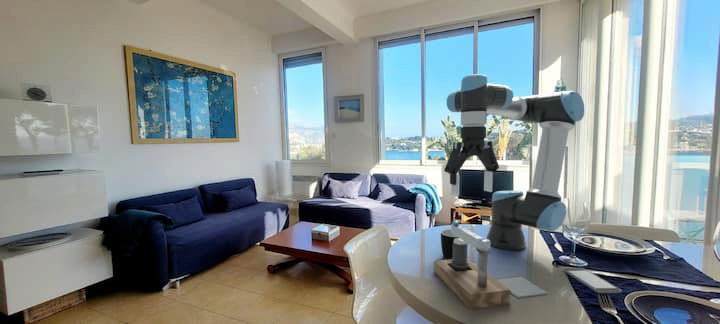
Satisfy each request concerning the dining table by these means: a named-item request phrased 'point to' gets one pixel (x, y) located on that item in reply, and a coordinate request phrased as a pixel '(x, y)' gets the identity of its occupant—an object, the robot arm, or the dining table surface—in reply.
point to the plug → (459, 255)
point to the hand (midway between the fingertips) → (472, 193)
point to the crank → (470, 238)
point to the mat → (522, 287)
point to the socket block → (473, 283)
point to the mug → (447, 243)
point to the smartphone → (592, 280)
